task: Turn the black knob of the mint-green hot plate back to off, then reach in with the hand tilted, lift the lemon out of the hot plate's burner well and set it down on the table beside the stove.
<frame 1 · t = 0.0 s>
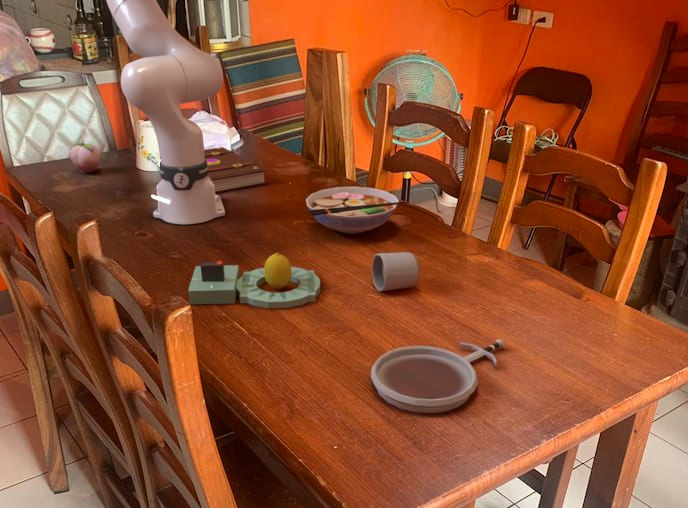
ramen bowl: (351, 229, 169), on the table
ceramic mug: (391, 285, 141), on the table
frying pan: (446, 374, 112), on the table
decorative fruit: (89, 173, 213), on the table
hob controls: (215, 290, 139), on the table
lemon: (278, 290, 140), resting in hob
hob: (278, 289, 139), on the table
book: (211, 177, 208), on the table
hob knob: (212, 271, 136), point 5 cm above the table, hinge at 90.0°
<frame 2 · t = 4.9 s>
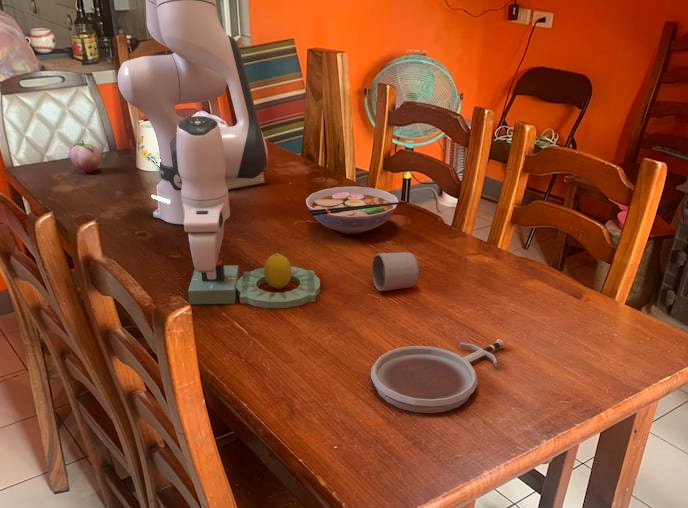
hand: (213, 274, 136), 4 cm above the table, tool pointing down, fingers closed on hob knob, 2 cm apart
hob knob: (212, 271, 136), point 5 cm above the table, hinge at 90.1°, touching gripper
everything else where it was.
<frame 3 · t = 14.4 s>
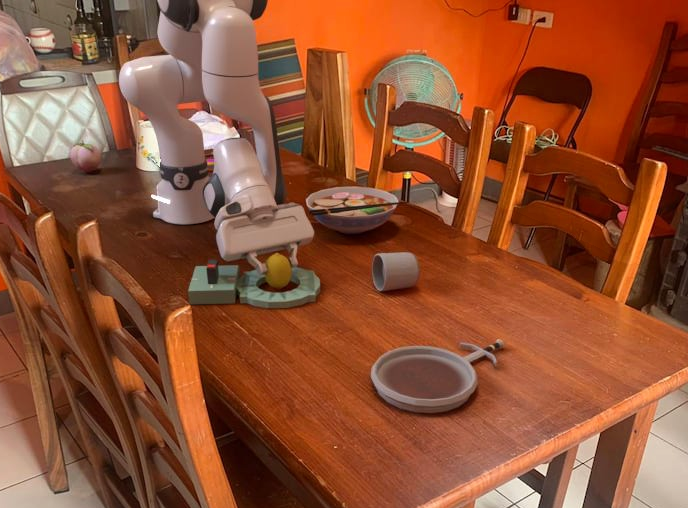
hand: (278, 270, 137), 5 cm above the table, tool tilted 45°, fingers closed on lemon, 5 cm apart
lemon: (278, 290, 140), resting in hob, touching gripper
hob knob: (212, 271, 136), point 5 cm above the table, hinge at 0.3°
everything else where it was.
when the fingers open (5 cm above the table, at t = 22.7 s): lemon stays where it is, on the table.
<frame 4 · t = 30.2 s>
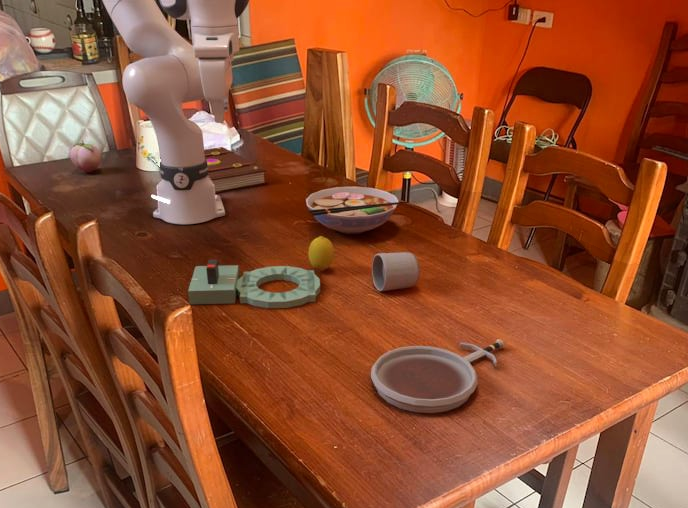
hand: (222, 116, 137), 31 cm above the table, tool pointing down, fingers open, 8 cm apart
lemon: (321, 271, 147), on the table
everything else where it was.
at the end: hob knob at +0° (first picture: +90°); lemon inside the target area (0.2 cm from its centre), on the table; lemon touching table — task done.
